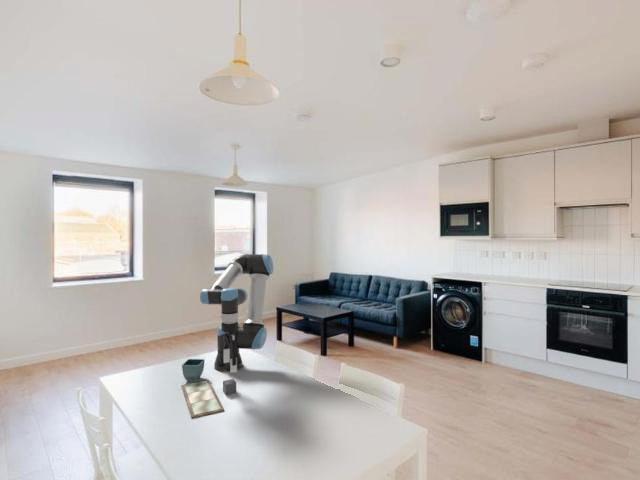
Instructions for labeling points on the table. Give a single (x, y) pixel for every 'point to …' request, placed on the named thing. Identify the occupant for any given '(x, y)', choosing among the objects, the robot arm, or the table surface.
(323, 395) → the table surface
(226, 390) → the gray block
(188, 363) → the flower pot
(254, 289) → the robot arm
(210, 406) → the board
